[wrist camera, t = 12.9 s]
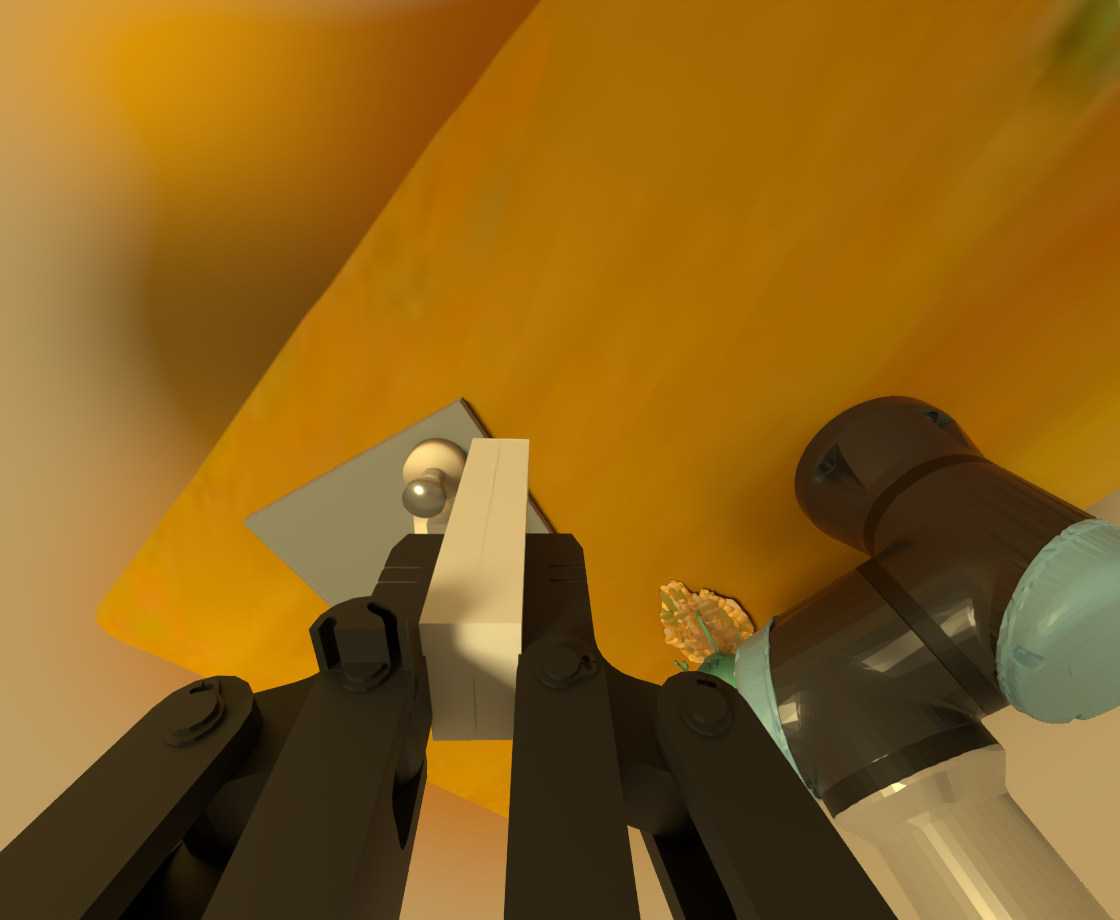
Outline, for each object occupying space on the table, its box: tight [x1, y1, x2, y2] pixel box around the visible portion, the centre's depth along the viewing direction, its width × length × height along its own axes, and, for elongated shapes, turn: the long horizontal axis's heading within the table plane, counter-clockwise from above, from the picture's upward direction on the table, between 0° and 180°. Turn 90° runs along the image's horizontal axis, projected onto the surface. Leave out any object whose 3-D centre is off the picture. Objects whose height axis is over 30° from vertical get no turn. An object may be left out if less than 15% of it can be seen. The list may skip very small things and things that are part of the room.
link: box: [403, 438, 466, 534], centre depth 46 cm, size 20×5×2 cm, turn 176°
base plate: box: [243, 397, 554, 607], centre depth 49 cm, size 22×25×1 cm
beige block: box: [402, 468, 451, 534], centre depth 44 cm, size 11×6×8 cm, turn 179°
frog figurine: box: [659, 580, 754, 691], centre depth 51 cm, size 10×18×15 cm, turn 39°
